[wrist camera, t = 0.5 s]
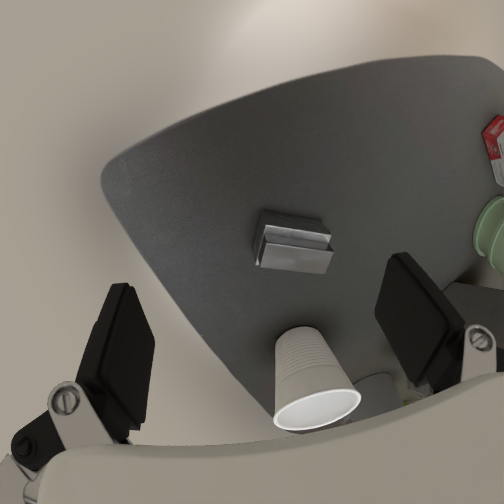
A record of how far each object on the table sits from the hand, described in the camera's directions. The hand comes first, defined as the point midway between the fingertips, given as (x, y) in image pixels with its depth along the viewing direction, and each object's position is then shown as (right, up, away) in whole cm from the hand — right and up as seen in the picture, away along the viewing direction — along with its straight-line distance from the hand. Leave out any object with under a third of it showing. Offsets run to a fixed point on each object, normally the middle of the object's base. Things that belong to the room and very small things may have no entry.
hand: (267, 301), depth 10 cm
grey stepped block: (+3, +3, +17) cm, 18 cm away
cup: (+5, -10, +26) cm, 28 cm away
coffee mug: (+21, -25, +38) cm, 50 cm away
